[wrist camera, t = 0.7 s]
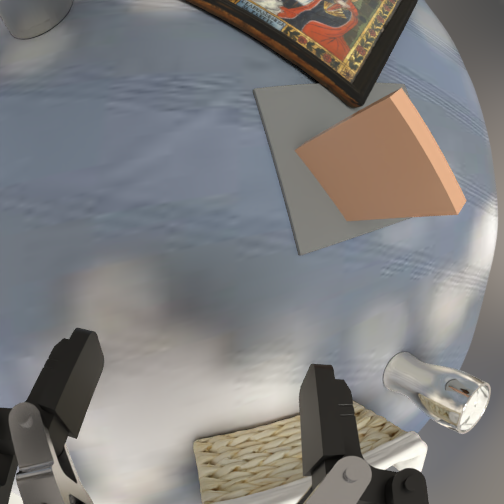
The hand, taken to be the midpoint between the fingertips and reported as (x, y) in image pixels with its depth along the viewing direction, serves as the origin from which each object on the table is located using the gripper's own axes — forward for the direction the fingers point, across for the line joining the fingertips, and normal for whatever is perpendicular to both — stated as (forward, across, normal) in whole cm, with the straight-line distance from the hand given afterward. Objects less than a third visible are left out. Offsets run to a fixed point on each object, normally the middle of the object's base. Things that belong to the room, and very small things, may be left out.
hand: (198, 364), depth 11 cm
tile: (+27, -10, +1) cm, 28 cm away
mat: (+31, -14, -2) cm, 34 cm away
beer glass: (+18, -26, +24) cm, 39 cm away
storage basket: (+8, -10, +32) cm, 35 cm away
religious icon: (+43, -6, -26) cm, 51 cm away
